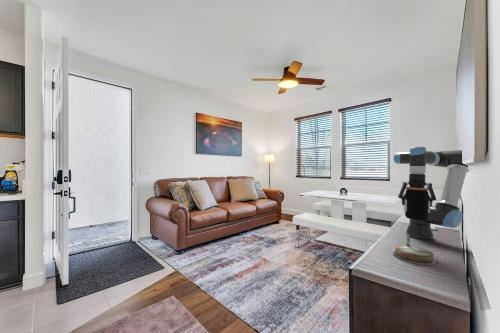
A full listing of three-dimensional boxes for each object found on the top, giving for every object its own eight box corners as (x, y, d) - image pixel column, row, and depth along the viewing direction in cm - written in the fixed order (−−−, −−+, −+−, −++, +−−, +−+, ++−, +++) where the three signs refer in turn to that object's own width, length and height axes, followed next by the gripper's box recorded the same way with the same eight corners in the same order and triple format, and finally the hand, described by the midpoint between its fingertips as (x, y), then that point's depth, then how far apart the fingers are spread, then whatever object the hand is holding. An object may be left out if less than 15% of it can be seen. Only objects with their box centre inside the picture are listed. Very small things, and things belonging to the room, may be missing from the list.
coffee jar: (421, 217, 130) (422, 187, 131) (432, 221, 120) (433, 188, 120) (401, 215, 133) (402, 186, 133) (410, 219, 123) (410, 187, 123)
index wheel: (391, 249, 124) (391, 233, 124) (424, 252, 119) (424, 236, 119) (402, 260, 108) (402, 242, 108) (440, 265, 104) (440, 246, 104)
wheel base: (409, 249, 125) (409, 247, 125) (445, 263, 108) (445, 260, 108) (385, 252, 120) (385, 250, 120) (419, 267, 102) (419, 264, 102)
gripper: (437, 174, 127) (437, 211, 127) (392, 172, 134) (391, 208, 134) (445, 174, 120) (444, 214, 119) (396, 173, 126) (395, 211, 126)
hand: (416, 211), depth 127 cm, fingers closed on coffee jar, 11 cm apart
